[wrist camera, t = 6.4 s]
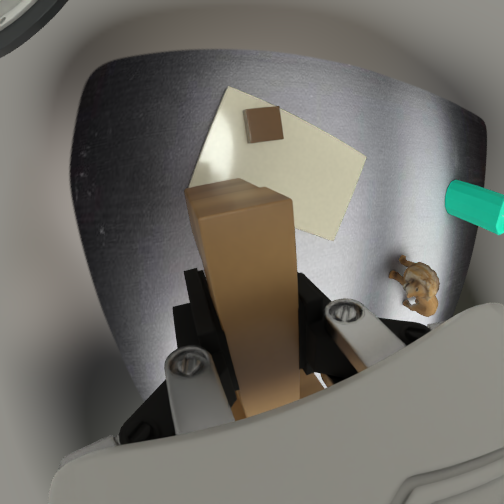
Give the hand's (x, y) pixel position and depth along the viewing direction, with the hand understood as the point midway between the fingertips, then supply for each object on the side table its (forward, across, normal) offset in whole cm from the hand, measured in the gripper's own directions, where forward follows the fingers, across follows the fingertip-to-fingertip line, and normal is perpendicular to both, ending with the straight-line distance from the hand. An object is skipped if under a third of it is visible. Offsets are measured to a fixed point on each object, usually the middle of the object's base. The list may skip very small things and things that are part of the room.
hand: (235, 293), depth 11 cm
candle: (+15, -40, +4) cm, 42 cm away
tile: (+15, -9, -2) cm, 17 cm away
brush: (+1, 0, +3) cm, 3 cm away
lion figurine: (+15, -26, +16) cm, 34 cm away
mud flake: (+14, -7, -6) cm, 17 cm away
